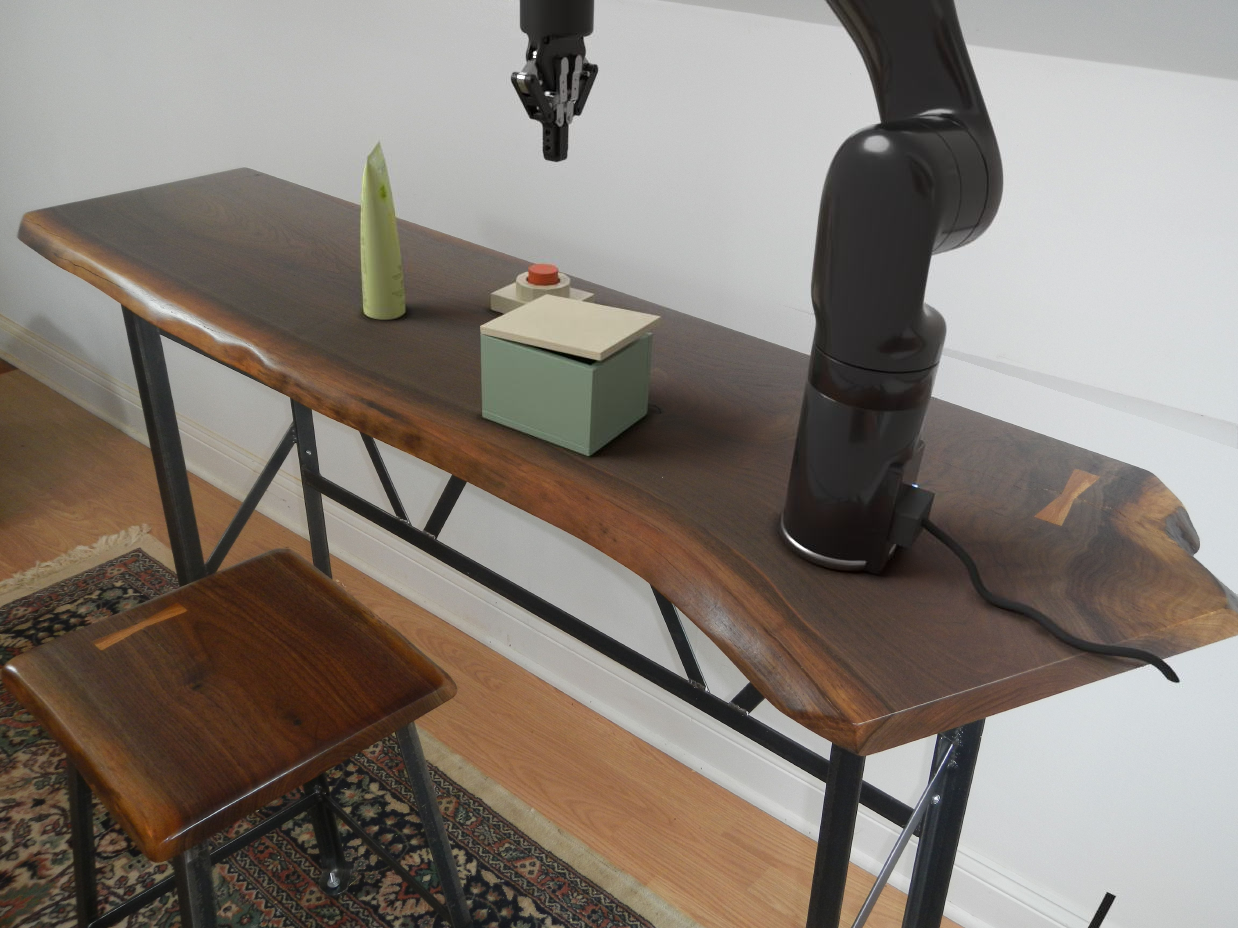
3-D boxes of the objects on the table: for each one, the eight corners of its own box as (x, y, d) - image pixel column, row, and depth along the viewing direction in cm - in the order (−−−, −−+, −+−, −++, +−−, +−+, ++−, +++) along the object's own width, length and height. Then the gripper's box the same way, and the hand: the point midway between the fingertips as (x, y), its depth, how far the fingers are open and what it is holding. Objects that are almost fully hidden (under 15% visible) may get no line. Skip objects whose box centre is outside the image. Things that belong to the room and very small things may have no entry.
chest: (647, 414, 96) (653, 333, 92) (589, 456, 88) (592, 370, 84) (545, 380, 102) (546, 302, 97) (482, 417, 94) (480, 334, 89)
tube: (417, 316, 115) (407, 149, 104) (380, 326, 111) (366, 155, 101) (391, 302, 118) (379, 139, 108) (354, 311, 115) (338, 144, 105)
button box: (594, 310, 119) (595, 280, 117) (557, 330, 113) (558, 298, 111) (529, 292, 123) (529, 262, 121) (490, 310, 117) (490, 279, 115)
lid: (661, 324, 91) (661, 316, 90) (600, 361, 83) (600, 352, 82) (546, 301, 97) (546, 294, 97) (480, 334, 89) (479, 325, 89)
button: (563, 282, 117) (564, 268, 116) (546, 290, 114) (546, 276, 113) (540, 275, 119) (540, 261, 118) (522, 283, 116) (522, 269, 115)
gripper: (548, -12, 89) (547, 177, 97) (624, -17, 99) (617, 155, 107) (485, -19, 92) (489, 165, 101) (564, -22, 102) (562, 145, 111)
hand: (555, 160), depth 104 cm, fingers closed
